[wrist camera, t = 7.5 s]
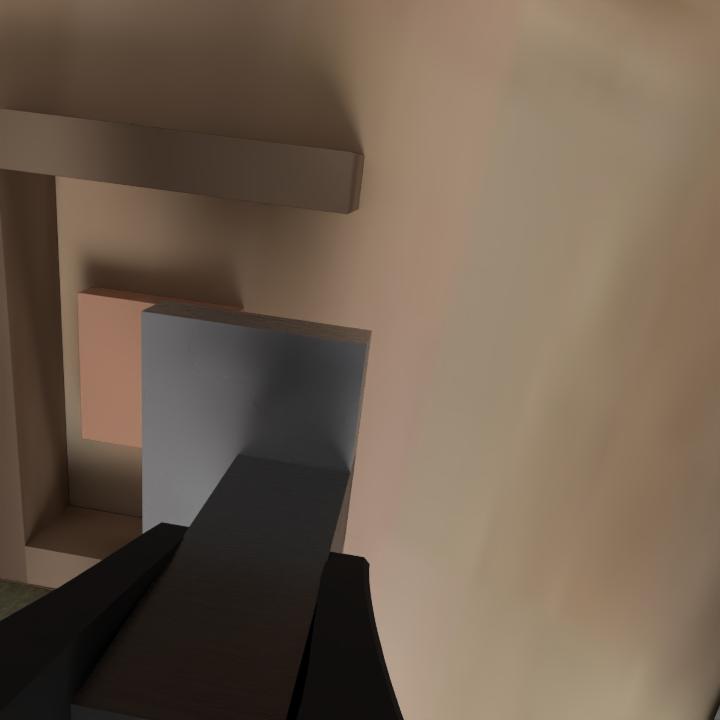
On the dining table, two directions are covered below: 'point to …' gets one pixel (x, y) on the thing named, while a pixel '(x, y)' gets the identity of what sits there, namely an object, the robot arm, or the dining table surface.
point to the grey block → (234, 512)
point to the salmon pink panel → (114, 362)
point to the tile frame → (43, 312)
